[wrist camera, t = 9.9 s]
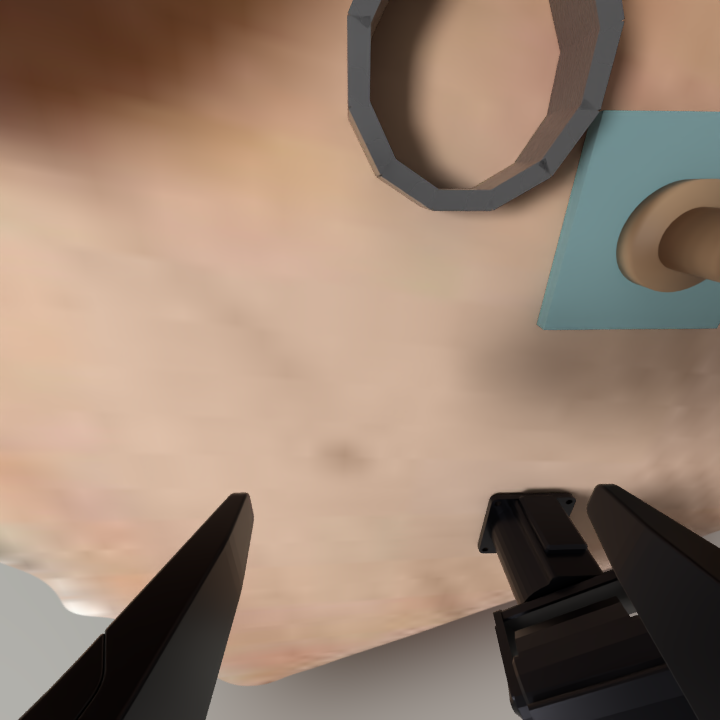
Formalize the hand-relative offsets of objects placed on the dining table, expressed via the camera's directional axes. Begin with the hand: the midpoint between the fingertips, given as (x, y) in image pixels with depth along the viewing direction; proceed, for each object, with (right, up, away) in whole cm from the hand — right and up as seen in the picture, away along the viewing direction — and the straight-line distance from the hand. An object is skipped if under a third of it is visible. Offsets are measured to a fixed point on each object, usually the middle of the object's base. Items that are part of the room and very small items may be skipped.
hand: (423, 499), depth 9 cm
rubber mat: (+14, +10, +9) cm, 19 cm away
